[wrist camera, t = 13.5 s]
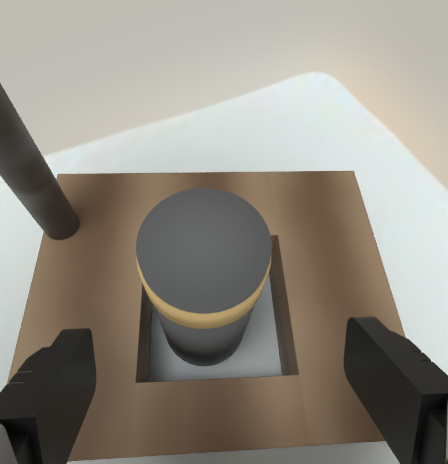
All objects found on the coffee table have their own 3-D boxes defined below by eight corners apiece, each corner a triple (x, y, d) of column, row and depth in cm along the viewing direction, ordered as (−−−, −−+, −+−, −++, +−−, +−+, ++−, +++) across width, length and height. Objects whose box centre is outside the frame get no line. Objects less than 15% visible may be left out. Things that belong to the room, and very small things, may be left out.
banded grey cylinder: (162, 370, 21) (127, 313, 11) (164, 288, 23) (137, 187, 14) (248, 365, 21) (284, 306, 12) (241, 285, 24) (265, 184, 14)
